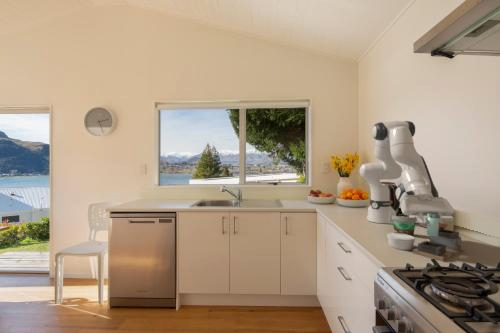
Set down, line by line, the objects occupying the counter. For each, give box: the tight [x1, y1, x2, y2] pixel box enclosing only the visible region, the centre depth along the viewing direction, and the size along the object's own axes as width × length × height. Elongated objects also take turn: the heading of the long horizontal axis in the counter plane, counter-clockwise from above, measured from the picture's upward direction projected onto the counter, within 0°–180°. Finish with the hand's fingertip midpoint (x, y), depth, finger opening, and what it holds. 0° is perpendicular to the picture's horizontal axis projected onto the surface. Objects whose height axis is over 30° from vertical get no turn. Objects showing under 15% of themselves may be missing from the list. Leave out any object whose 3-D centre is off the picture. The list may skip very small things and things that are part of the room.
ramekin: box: [386, 232, 416, 251], centre depth 118 cm, size 11×11×5 cm
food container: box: [392, 215, 418, 237], centre depth 138 cm, size 12×6×10 cm, turn 71°
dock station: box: [412, 229, 465, 262], centre depth 112 cm, size 23×11×8 cm, turn 123°
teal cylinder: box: [426, 213, 439, 237], centre depth 108 cm, size 4×4×9 cm
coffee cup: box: [438, 216, 455, 231], centre depth 129 cm, size 9×9×12 cm
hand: (433, 223), depth 107 cm, fingers closed on teal cylinder, 4 cm apart
